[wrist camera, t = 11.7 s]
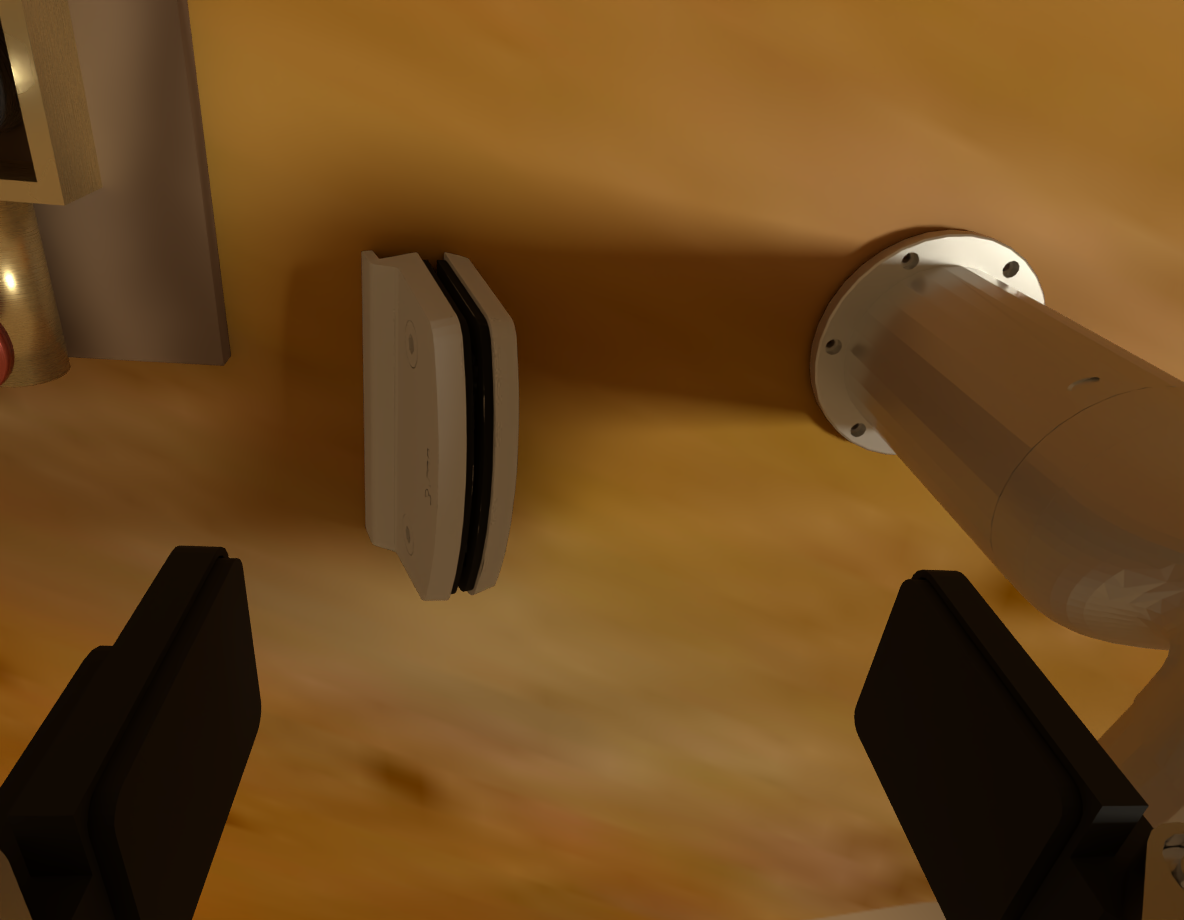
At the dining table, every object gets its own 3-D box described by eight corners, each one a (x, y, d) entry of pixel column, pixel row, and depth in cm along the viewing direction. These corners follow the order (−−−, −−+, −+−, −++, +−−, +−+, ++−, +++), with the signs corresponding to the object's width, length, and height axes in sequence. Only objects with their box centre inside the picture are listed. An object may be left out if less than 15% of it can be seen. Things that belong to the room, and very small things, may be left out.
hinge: (361, 242, 37) (418, 317, 30) (458, 243, 39) (534, 313, 32) (365, 533, 45) (411, 649, 38) (445, 520, 48) (504, 629, 40)
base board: (177, -77, 31) (166, -80, 30) (230, 356, 39) (223, 365, 38) (-236, -132, 29) (-264, -137, 28) (-83, 337, 37) (-99, 347, 36)
